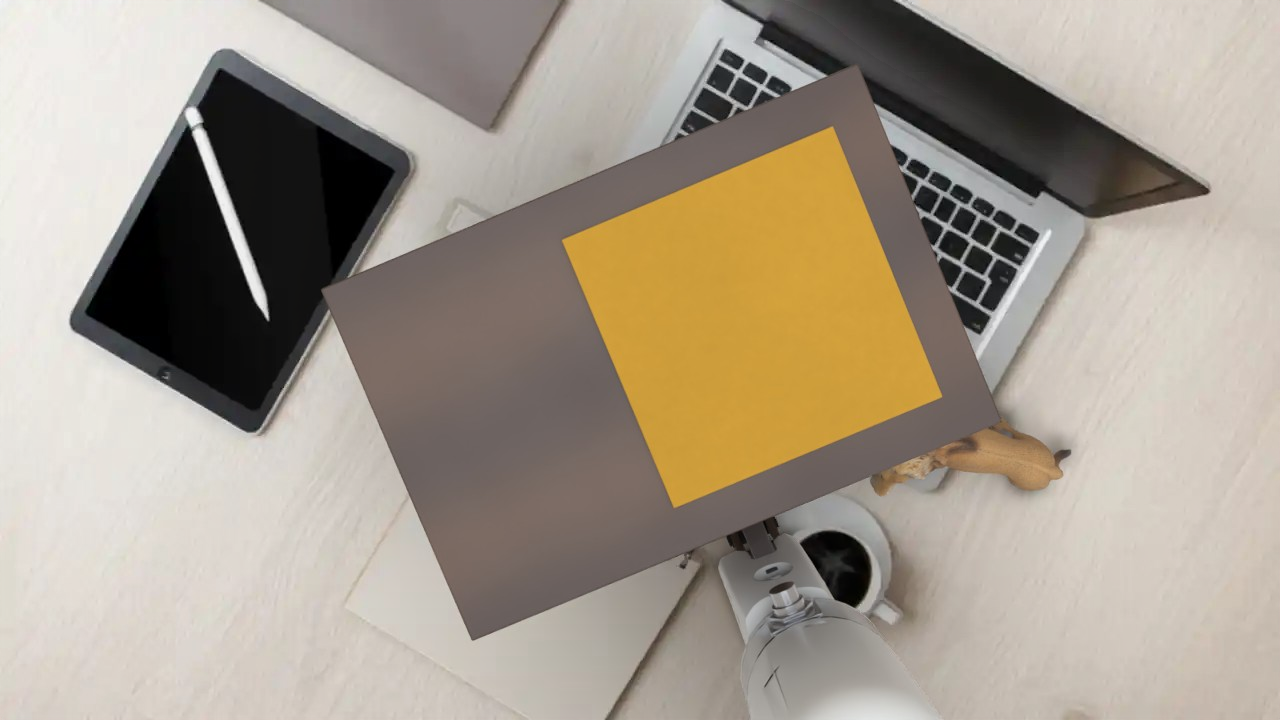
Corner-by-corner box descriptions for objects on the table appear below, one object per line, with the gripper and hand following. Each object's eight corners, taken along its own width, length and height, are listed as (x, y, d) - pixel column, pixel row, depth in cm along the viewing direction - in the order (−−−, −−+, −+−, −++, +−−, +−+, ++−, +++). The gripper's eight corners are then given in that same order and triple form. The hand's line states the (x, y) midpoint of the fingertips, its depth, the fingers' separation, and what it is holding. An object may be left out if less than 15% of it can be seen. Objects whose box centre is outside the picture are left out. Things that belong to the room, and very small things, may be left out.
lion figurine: (841, 478, 72) (870, 502, 63) (845, 397, 72) (875, 410, 63) (1064, 488, 72) (1125, 514, 63) (1070, 408, 72) (1132, 422, 63)
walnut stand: (870, 381, 72) (1002, 422, 46) (531, 521, 72) (471, 641, 46) (777, 153, 71) (858, 62, 45) (436, 296, 71) (319, 289, 45)
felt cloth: (940, 396, 46) (943, 397, 45) (673, 506, 46) (673, 508, 45) (831, 127, 45) (833, 125, 45) (561, 240, 45) (561, 239, 45)
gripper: (680, 548, 53) (669, 487, 70) (815, 870, 54) (772, 732, 71) (824, 489, 53) (778, 442, 70) (957, 812, 54) (879, 688, 71)
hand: (775, 588), depth 70 cm, fingers open, 9 cm apart
